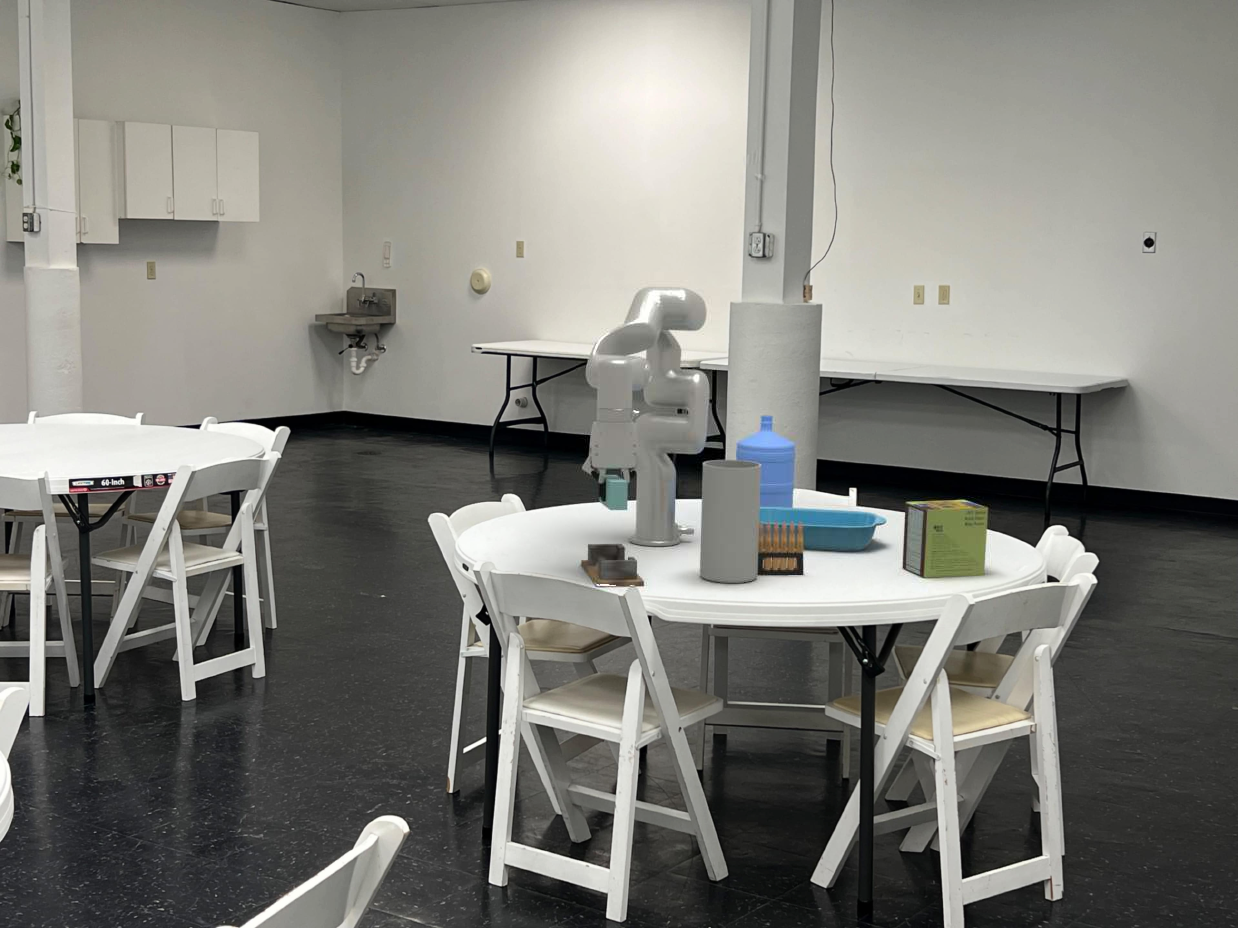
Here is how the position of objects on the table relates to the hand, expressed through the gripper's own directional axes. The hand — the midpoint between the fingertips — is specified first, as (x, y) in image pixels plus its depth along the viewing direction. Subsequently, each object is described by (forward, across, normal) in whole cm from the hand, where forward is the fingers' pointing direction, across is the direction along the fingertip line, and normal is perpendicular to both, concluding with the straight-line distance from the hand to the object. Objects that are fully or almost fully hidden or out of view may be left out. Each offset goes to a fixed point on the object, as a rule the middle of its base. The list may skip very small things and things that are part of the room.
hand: (612, 499), depth 303 cm
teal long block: (+1, 0, 0) cm, 1 cm away
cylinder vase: (+17, -25, +5) cm, 31 cm away
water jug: (+17, -52, -61) cm, 82 cm away
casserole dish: (+17, -55, -31) cm, 66 cm away
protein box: (+17, -75, +4) cm, 77 cm away
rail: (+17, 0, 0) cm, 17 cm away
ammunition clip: (+17, -37, +3) cm, 41 cm away
